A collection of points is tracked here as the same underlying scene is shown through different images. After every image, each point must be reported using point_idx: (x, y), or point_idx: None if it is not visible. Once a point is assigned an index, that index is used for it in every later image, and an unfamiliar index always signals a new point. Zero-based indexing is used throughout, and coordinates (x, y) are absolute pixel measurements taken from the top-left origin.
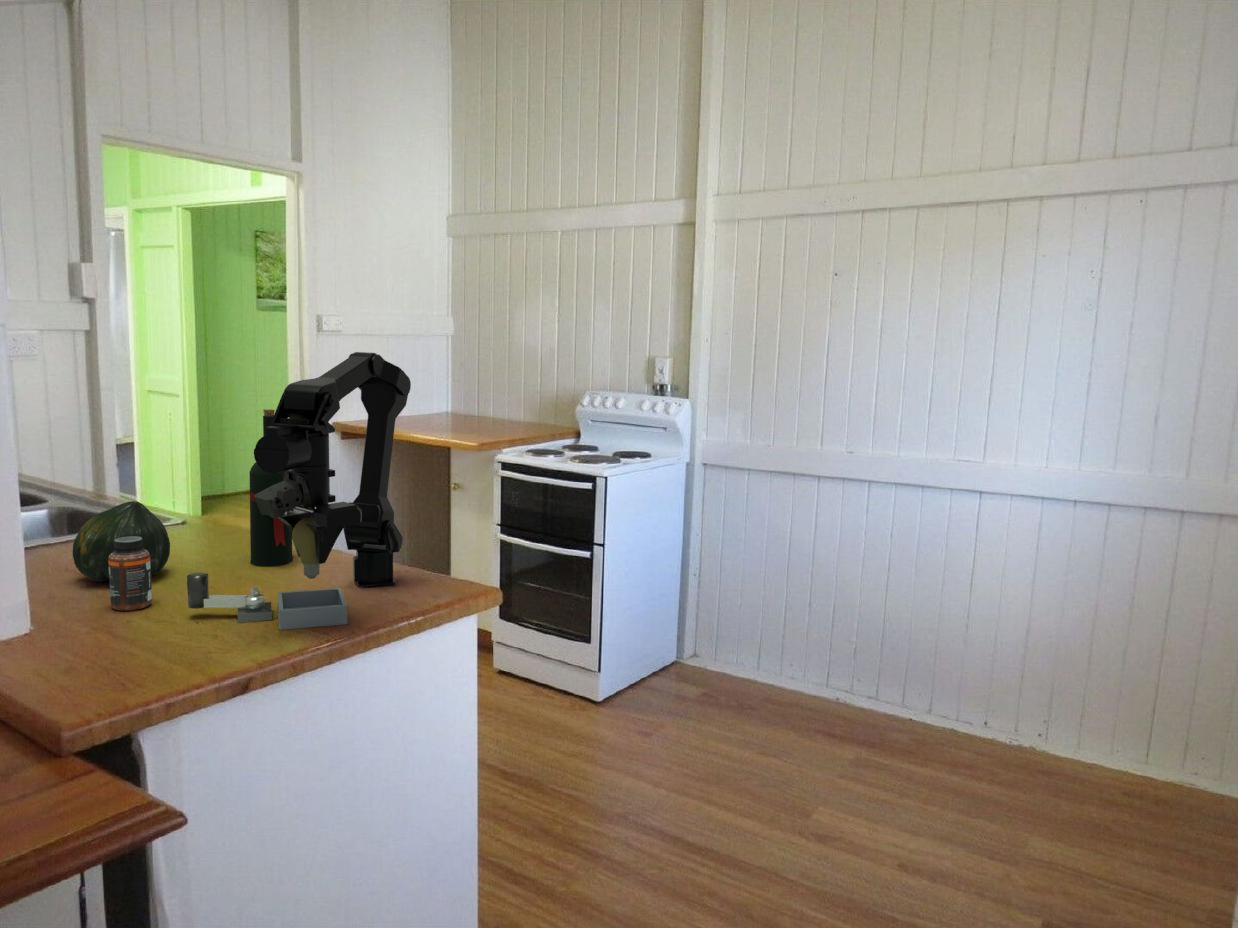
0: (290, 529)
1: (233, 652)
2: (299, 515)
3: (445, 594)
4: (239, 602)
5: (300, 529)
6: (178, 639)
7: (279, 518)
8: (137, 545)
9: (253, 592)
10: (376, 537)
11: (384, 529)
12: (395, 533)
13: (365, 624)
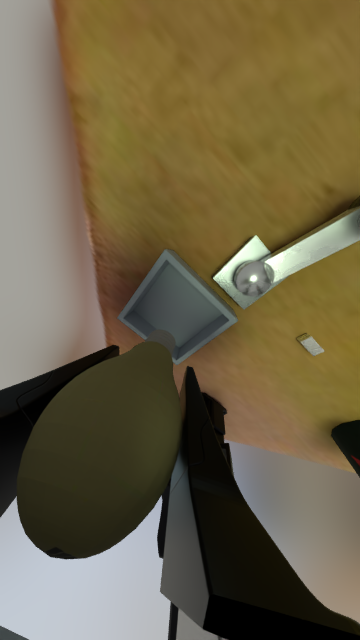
0: (207, 455)
1: (148, 106)
2: (175, 586)
3: None
4: (272, 255)
5: (61, 434)
6: (307, 61)
7: (288, 591)
8: None
9: (307, 338)
10: None
11: None
12: None
13: (116, 316)
